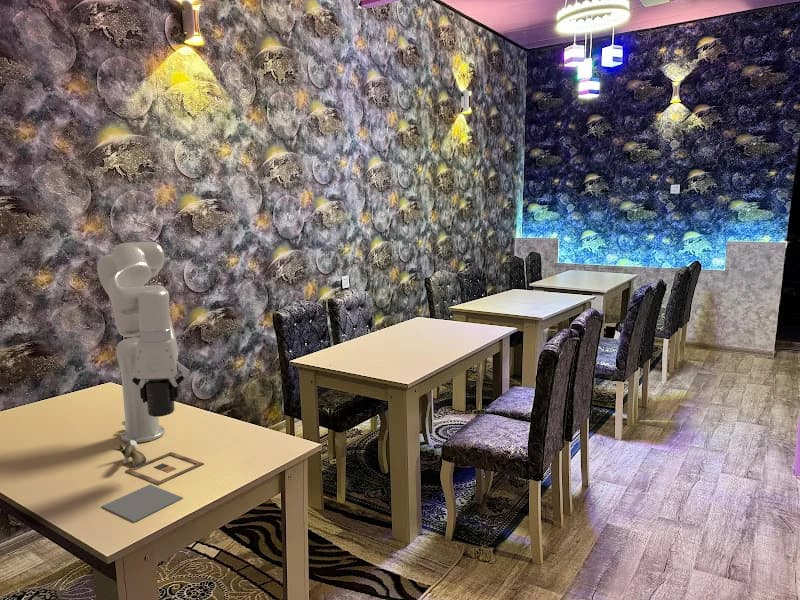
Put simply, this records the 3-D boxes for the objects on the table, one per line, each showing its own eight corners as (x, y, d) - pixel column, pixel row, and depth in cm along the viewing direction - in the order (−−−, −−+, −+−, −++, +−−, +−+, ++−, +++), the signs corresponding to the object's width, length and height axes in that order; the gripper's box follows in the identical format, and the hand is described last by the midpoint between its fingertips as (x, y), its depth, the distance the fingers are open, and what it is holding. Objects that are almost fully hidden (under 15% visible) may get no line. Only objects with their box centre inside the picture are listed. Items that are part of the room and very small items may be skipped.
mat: (101, 507, 139) (101, 506, 138) (150, 485, 149) (150, 484, 149) (134, 522, 132) (134, 521, 132) (182, 498, 143) (182, 497, 143)
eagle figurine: (105, 460, 161) (120, 462, 156) (115, 435, 164) (130, 436, 158) (131, 467, 166) (146, 469, 161) (140, 442, 169) (155, 443, 163)
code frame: (125, 471, 157) (125, 470, 157) (171, 452, 169) (170, 451, 169) (158, 485, 150) (158, 483, 150) (204, 464, 162) (203, 463, 162)
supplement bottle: (166, 406, 162) (163, 365, 160) (179, 412, 157) (176, 369, 156) (142, 413, 157) (139, 370, 155) (155, 419, 152) (152, 375, 150)
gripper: (116, 340, 149) (121, 406, 152) (186, 338, 151) (190, 403, 154) (125, 333, 156) (130, 397, 159) (192, 331, 158) (196, 394, 161)
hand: (160, 399), depth 156 cm, fingers closed on supplement bottle, 6 cm apart
